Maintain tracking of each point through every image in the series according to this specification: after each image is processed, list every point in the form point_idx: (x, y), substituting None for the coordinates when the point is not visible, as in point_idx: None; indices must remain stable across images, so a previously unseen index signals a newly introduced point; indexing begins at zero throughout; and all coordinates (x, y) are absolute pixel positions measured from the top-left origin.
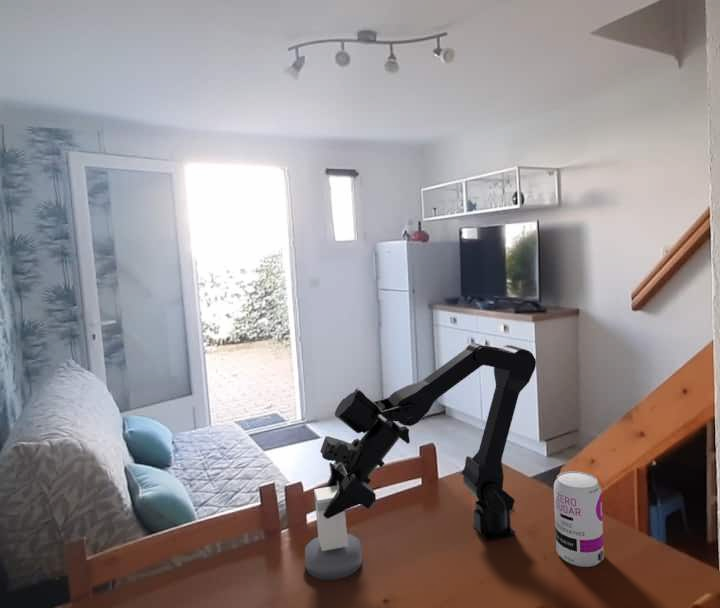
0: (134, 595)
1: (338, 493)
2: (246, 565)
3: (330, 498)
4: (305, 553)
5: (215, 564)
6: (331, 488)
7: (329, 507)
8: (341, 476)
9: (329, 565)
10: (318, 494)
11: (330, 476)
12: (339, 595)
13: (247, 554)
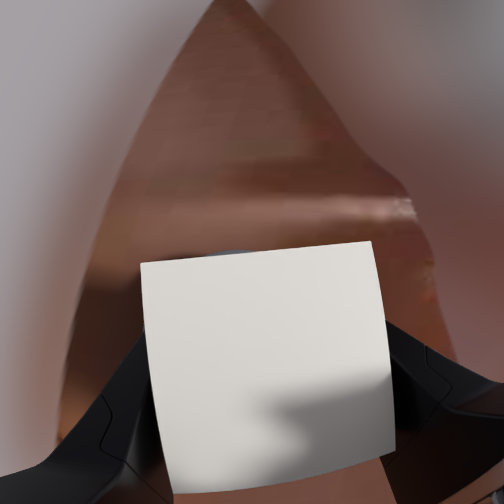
0: (224, 3)
1: (54, 464)
2: (274, 121)
3: (153, 383)
4: (226, 251)
5: (290, 73)
6: (354, 396)
7: (125, 359)
8: (450, 481)
9: (144, 328)
10: (261, 275)
11: (485, 380)
12: (88, 343)
13: (320, 123)
